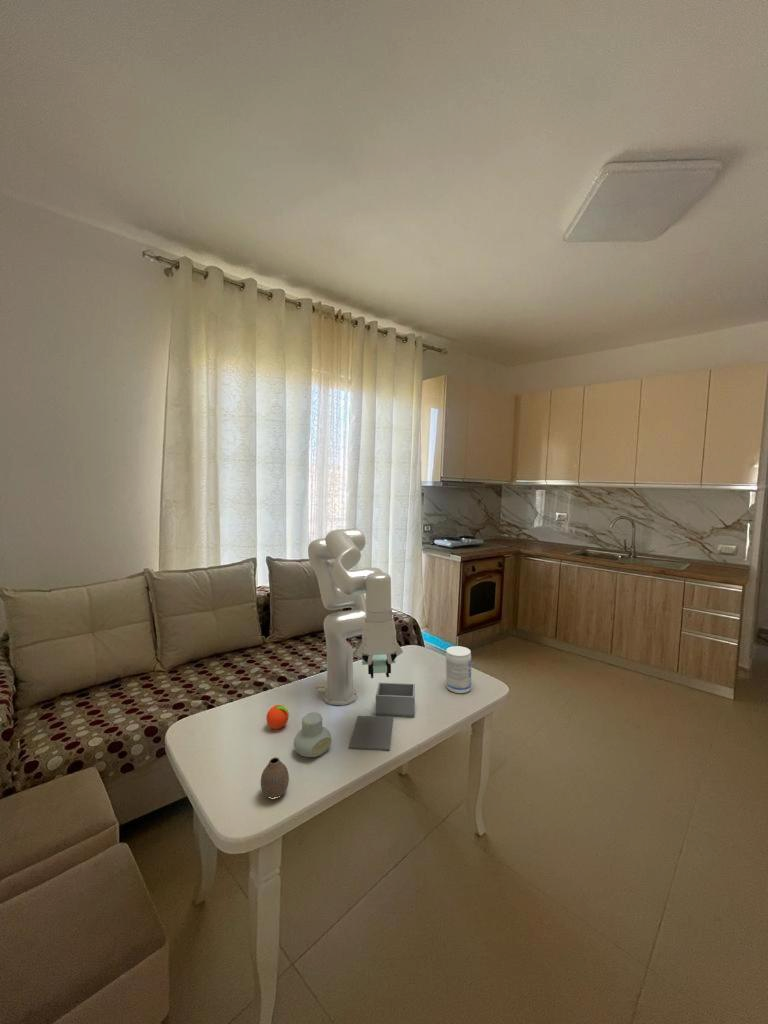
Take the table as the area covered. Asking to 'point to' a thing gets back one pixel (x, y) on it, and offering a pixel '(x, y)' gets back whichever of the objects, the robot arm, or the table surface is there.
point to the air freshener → (312, 736)
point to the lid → (378, 663)
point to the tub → (395, 700)
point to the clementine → (277, 716)
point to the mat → (372, 733)
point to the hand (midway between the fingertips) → (379, 675)
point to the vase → (274, 778)
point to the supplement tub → (458, 669)
